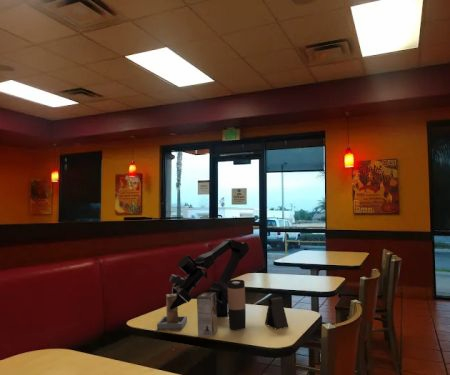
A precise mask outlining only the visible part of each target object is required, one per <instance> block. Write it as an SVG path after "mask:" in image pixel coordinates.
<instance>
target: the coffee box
mask: <svg viewBox="0 0 450 375" xmlns="http://www.w3.org/2000/svg"><path fill="white" fill-rule="evenodd" d="M196 307H197V308H196V311H197V312H196V313H197V314H196V315H197V337H203V338H204V337H206V338H209V337H210V338H213V336H214V335H215V333H216V332H217V331H218V317H217V304H216V292H208V291H205V292H204V291H203V292H201V293H200V294H199V295H198V296H196Z"/></svg>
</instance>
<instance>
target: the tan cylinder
mask: <svg viewBox="0 0 450 375" xmlns="http://www.w3.org/2000/svg"><path fill="white" fill-rule="evenodd" d="M165 298H166V300H165V302H166V316H167V323H178V316H179V309H178V307H179V306H178V307H176V308H174V309H172V310H171V309H170V306H171V305H172V303H173V302H174V300H175V299H176V294H172V293H170V294H169V293H167V294H165Z"/></svg>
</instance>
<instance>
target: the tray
mask: <svg viewBox="0 0 450 375" xmlns="http://www.w3.org/2000/svg"><path fill="white" fill-rule="evenodd" d="M187 322H188V316H186V315H185V316H183V315H182V316H181V315H178V323H167V315H164V316H162V318H160V320H159V321H158V322H157V324H156V330H160V331H161V330H162V331H163V330H164V331H165V330H170V331H171V330H173V331H176V330H178V331H179V330H180V331H182V330H183V329H184V328H185V326H186V324H187Z"/></svg>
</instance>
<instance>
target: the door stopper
mask: <svg viewBox="0 0 450 375" xmlns="http://www.w3.org/2000/svg"><path fill="white" fill-rule="evenodd" d="M267 304H268V305H267V311H266V316H265V321H264V324H265V326H268V325H269V327H270V326H271V328H273V329H275V328H276V329H275V330H280V328H281V329H285V328H288V327H289V323H288V320H287V316H286V311H285V307H284V299H283V297H282V296H278V297H273V298H272V297H271V298H268V300H267ZM284 327H285V328H284Z"/></svg>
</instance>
